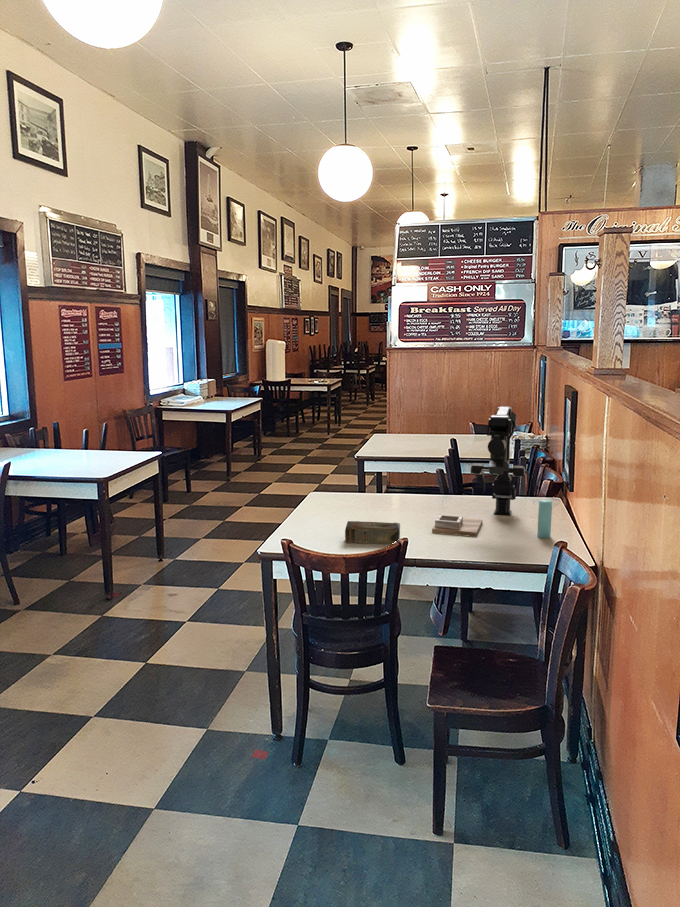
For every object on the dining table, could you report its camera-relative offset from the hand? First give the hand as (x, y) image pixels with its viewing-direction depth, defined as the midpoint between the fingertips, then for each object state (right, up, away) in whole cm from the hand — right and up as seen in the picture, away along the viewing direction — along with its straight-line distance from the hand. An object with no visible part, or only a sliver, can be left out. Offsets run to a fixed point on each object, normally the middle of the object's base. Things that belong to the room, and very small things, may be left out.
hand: (497, 493), depth 253 cm
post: (+16, -15, -3) cm, 22 cm away
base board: (-13, -14, +8) cm, 20 cm away
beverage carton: (-45, -17, -7) cm, 49 cm away
